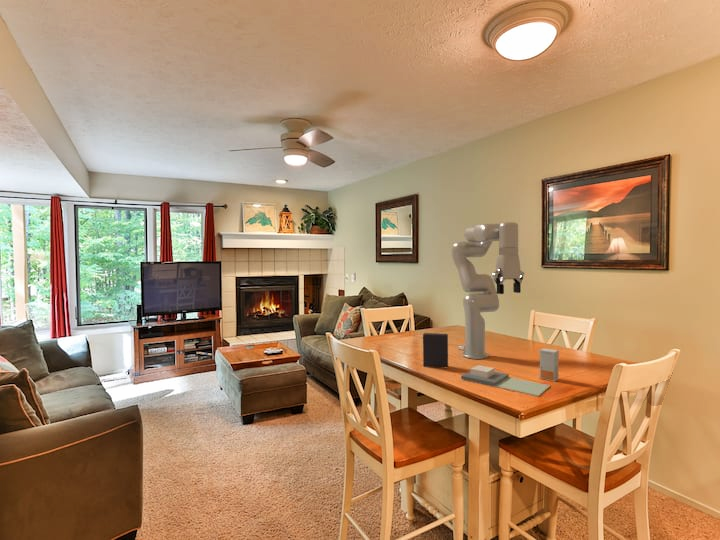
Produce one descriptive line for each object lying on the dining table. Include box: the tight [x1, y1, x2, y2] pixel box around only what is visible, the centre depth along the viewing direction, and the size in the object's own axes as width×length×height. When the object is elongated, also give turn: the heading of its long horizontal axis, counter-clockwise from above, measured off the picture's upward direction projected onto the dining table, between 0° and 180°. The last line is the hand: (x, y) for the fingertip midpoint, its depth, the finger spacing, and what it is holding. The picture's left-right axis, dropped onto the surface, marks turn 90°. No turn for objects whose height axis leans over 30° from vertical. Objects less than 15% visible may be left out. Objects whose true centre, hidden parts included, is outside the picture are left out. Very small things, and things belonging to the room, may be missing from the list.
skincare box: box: [539, 347, 560, 382], centre depth 156 cm, size 6×4×12 cm
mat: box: [494, 376, 551, 397], centre depth 148 cm, size 16×14×1 cm
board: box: [460, 370, 510, 387], centre depth 158 cm, size 14×14×2 cm
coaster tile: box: [470, 364, 495, 378], centre depth 159 cm, size 7×7×2 cm
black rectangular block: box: [422, 332, 449, 368], centre depth 177 cm, size 11×4×15 cm, turn 74°
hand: (508, 293), depth 161 cm, fingers open, 9 cm apart
